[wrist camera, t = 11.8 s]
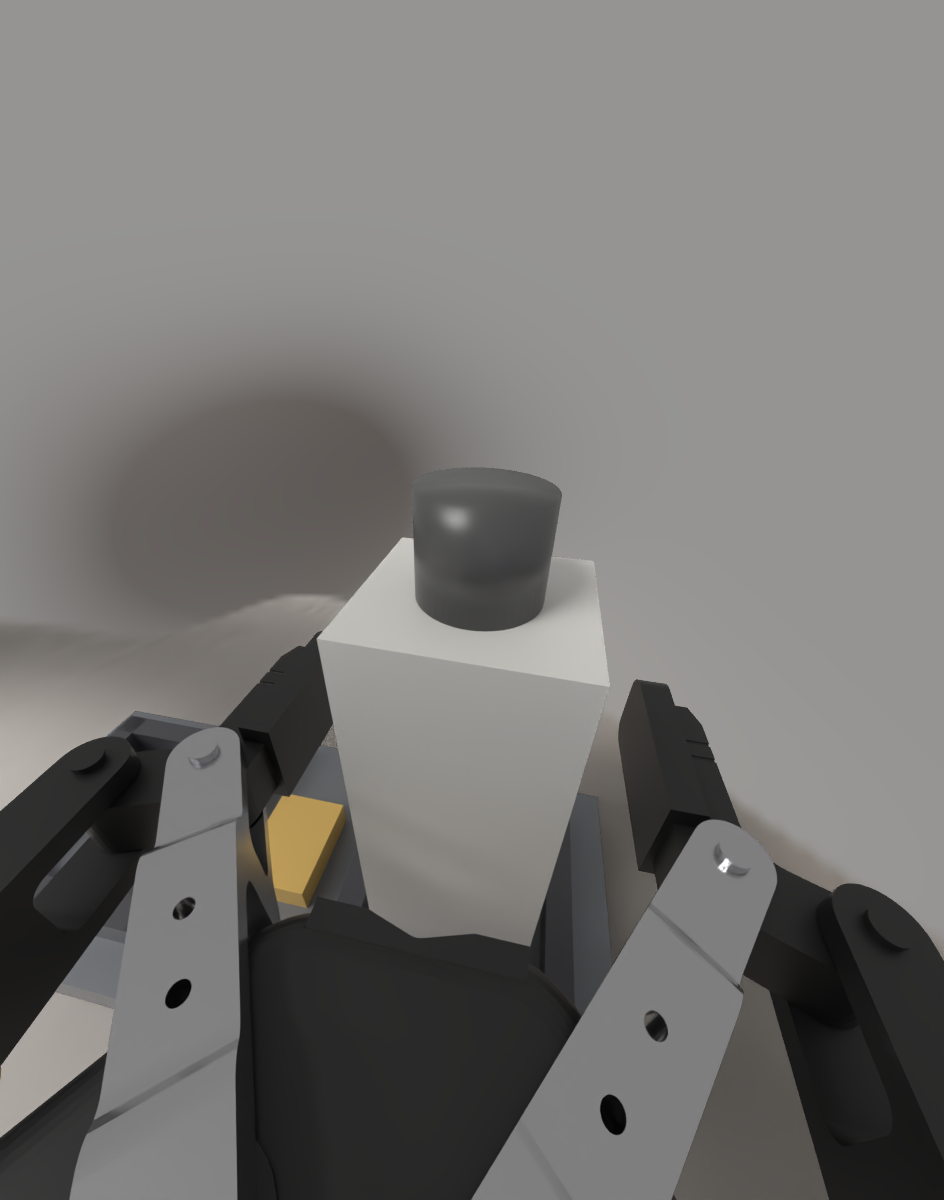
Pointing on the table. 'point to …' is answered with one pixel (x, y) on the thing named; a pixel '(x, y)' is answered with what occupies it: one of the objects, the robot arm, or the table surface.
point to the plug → (467, 705)
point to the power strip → (333, 871)
